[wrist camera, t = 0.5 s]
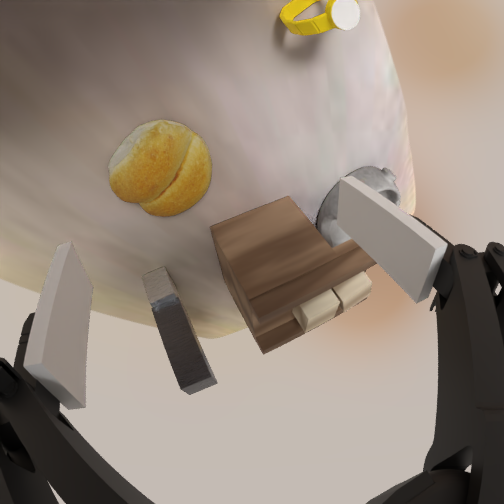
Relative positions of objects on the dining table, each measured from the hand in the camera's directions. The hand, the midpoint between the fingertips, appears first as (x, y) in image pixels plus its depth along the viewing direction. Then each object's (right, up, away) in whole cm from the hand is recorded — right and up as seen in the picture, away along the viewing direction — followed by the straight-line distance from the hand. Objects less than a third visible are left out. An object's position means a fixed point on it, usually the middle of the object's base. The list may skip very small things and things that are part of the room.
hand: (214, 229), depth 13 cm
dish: (+16, +7, +29) cm, 34 cm away
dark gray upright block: (-10, -5, +23) cm, 25 cm away
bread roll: (-7, +7, +11) cm, 14 cm away
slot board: (+5, +1, +26) cm, 26 cm away
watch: (+5, +19, +4) cm, 20 cm away
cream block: (+13, -4, +21) cm, 25 cm away
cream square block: (+8, -6, +20) cm, 23 cm away
